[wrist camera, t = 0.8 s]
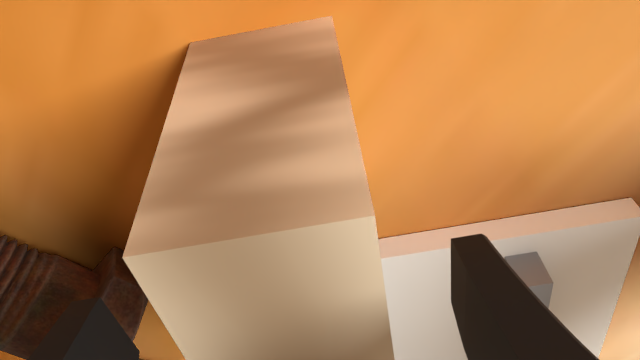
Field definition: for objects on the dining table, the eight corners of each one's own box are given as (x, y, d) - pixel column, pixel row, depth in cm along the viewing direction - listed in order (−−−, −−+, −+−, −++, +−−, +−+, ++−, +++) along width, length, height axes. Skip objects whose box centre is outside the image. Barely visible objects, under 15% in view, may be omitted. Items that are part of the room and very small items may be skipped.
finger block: (331, 15, 14) (375, 215, 8) (358, 189, 18) (401, 412, 12) (190, 42, 14) (122, 257, 8) (248, 208, 18) (233, 436, 12)
